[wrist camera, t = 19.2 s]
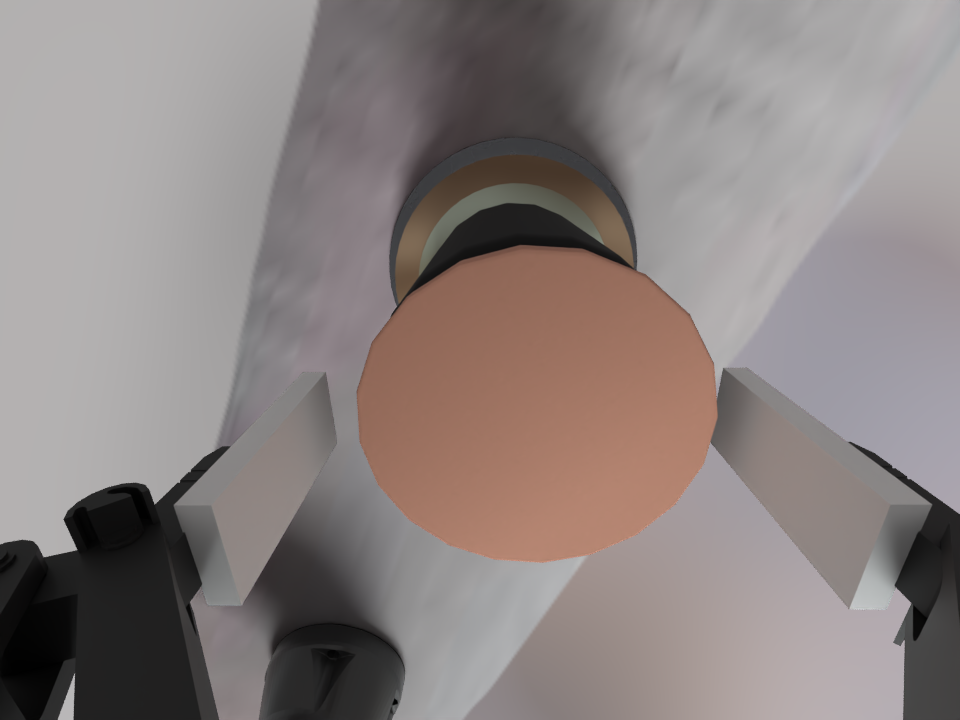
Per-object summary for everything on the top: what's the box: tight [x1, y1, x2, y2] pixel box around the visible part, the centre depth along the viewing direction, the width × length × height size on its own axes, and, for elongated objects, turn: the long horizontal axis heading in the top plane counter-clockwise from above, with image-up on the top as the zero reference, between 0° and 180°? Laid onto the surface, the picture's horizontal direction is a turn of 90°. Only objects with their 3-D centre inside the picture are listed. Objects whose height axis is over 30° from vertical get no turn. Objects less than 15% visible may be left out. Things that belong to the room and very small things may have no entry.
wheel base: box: [390, 138, 637, 306], centre depth 33 cm, size 18×18×1 cm
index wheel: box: [395, 155, 634, 303], centre depth 29 cm, size 16×16×9 cm
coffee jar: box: [357, 203, 718, 563], centre depth 22 cm, size 11×11×18 cm
